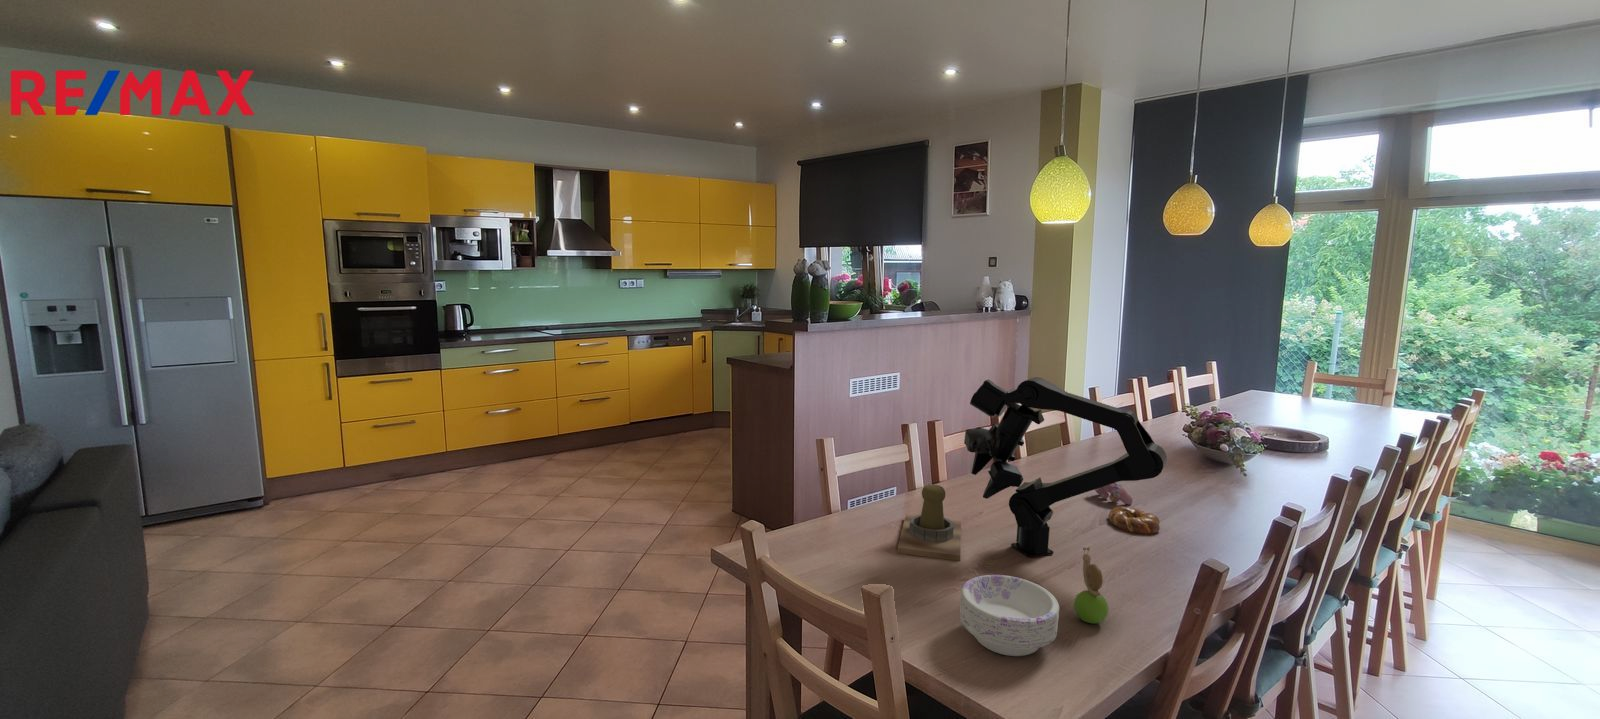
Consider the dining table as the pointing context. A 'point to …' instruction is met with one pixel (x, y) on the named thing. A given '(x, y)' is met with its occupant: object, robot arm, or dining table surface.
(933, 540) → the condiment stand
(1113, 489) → the video game controller
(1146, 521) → the pretzel
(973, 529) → the dining table surface
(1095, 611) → the snail figurine
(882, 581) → the dining table surface
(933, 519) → the cork
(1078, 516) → the dining table surface
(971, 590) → the paper bowls
